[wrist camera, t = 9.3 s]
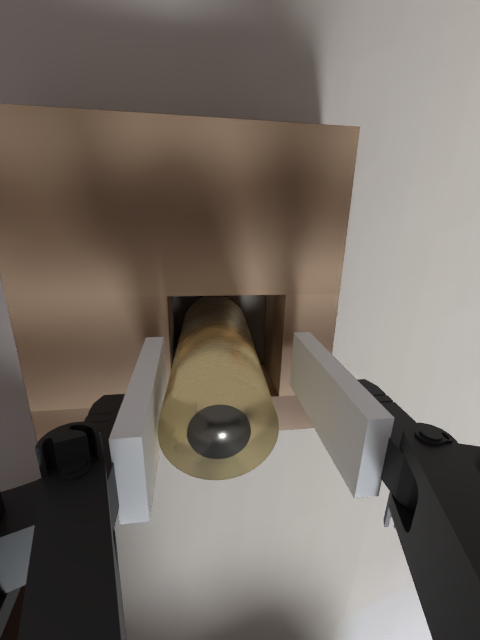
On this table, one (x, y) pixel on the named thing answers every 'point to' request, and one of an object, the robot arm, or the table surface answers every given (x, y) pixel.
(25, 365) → the block
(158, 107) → the table surface
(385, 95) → the table surface
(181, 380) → the tan cylinder
